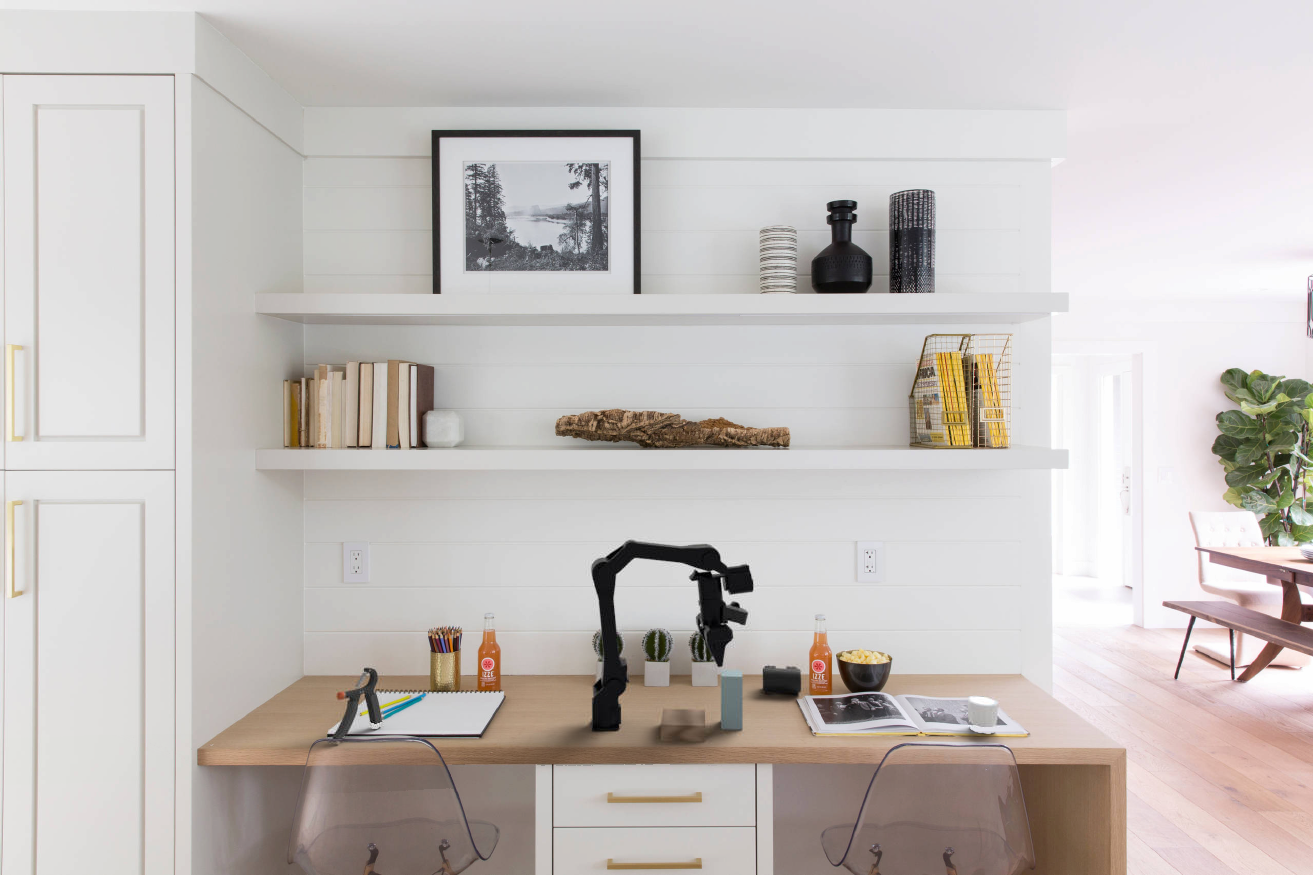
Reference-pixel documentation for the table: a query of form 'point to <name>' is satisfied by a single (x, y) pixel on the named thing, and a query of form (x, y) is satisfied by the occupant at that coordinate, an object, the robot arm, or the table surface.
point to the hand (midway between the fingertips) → (716, 661)
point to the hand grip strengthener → (354, 700)
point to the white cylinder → (982, 711)
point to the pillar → (731, 699)
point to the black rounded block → (781, 680)
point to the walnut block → (683, 725)
